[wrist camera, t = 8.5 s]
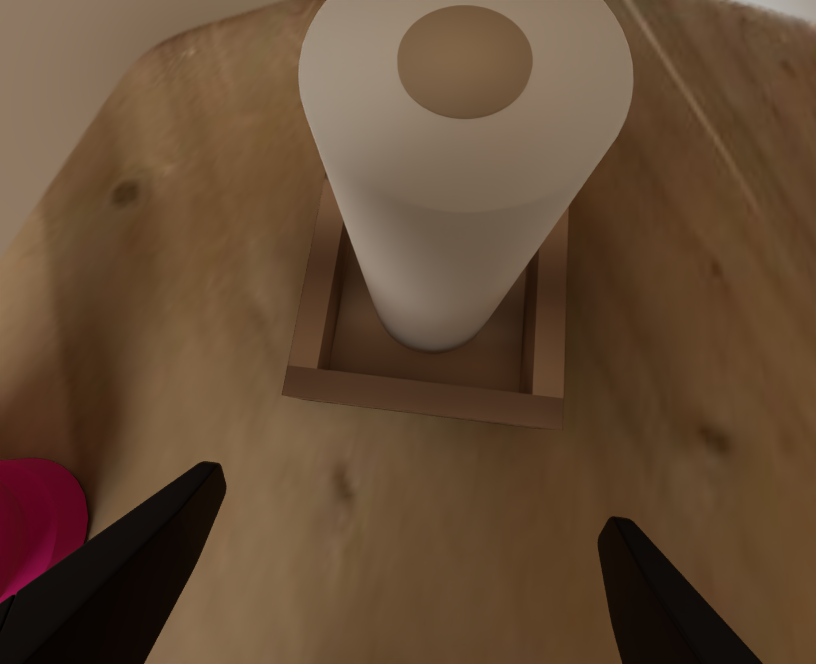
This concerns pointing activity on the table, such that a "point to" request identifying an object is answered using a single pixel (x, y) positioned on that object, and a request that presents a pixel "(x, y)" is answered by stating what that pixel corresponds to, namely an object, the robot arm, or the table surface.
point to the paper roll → (458, 142)
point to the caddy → (420, 372)
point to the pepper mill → (37, 519)
